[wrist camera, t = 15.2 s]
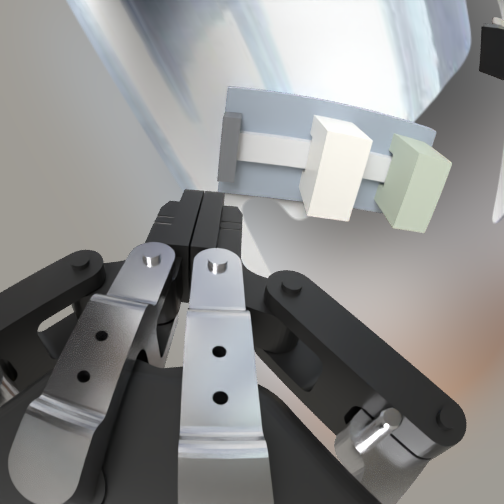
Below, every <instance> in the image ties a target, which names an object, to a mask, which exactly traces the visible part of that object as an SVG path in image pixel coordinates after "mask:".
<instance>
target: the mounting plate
mask: <svg viewBox="0 0 504 504" xmlns="http://www.w3.org/2000/svg"><path fill="white" fill-rule="evenodd" d="M314 115H318V116H324V117H329V118H333V119H338V120H343V121H347V122H352V123H353V124H355V125H356V126H357V127H358V128H359V129H360V130H361V131H363V132H364V133H365V134H366V135H367V136H368V137H369V138H370V139H372V140H373V142H372V146H371V149H370V153H369V156H368V160H367V163H366V167H365V170H364V174H363V177H362V180H361V184H360V187H359V190H358V193H357V197H356V200H355V203H354V206H353V209H359V210H365V211H372V212H378V213H383V214H384V215H385V217H386V218H387V220H388V222H389V223H390V225H391V226H392V228H395V229H402V230H408V231H415V232H421V233H425V230H426V228H427V226H428V224H429V221H430V219H431V217H432V214H433V212H434V210H435V207H436V205H437V202H438V200H439V197H440V195H441V192H442V189H443V187H444V184H445V182H446V179H447V176H448V174H449V170H450V168H451V165H452V163H451V162H450V161H449V160H448V159H446V158H445V157H444V156H442V155H441V154H440V153H438V152H437V151H436V150H435V149H433V148H432V145H433V142H434V139H435V135H436V131H435V130H433V129H432V128H429V127H426V126H423V125H420V124H417V123H413V122H410V121H407V120H404V119H400V118H397V117H393V116H390V115H386V114H383V113H379V112H375V111H371V110H367V109H363V108H359V107H355V106H351V105H346V104H342V103H337V102H333V101H328V100H323V99H318V98H312V97H307V96H301V95H295V94H289V93H282V92H275V91H268V90H260V89H251V88H242V87H232V86H229V87H228V91H227V100H226V109H225V114H224V116H223V124H222V135H221V146H220V157H219V168H218V181H219V185H218V192H222V193H231V194H241V195H251V196H260V197H269V198H277V199H286V200H294V201H302V202H303V200H302V196H301V193H300V190H299V183H300V179H301V174H302V170H305V168H306V164H307V159H308V155H309V150H310V145H311V141H312V136H311V134H310V132H311V127H312V122H313V117H314Z"/></svg>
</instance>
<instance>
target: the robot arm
mask: <svg viewBox="0 0 504 504" xmlns="http://www.w3.org/2000/svg"><path fill="white" fill-rule="evenodd" d="M224 195H225V193H222V192H211V191H205V194H204V191H199V190H187V189H185V190H184V193H183V195H182V198H181V200H180V202H177V201H169V202H168V203H166V204H165V205H164V206H163V207H161V209H160V211H159V213H158V217H157V218H156V220H155V223H154V224H153V226H152V228H151V231H150V233H149V235H148V237H147V240H146V242H145V243H144V244H141V245H139V246H137V247H135V248H134V249H133V250H132V251H131V252H130V254H129V256H128V257H127V259H126V260H124V261H119V262H111V263H103V258H102V257H101V255H100V254H99V253H97V252H95V251H92V250H80V251H77V252H74V253H72V254H70V255H68V256H66V257H64V258H62V259H60V260H58V261H56V262H54V263H53V264H51V265H49V266H47V267H45V268H43V269H41V270H40V271H38V272H36V273H34V274H32V275H31V276H29V277H27V278H25V279H23V280H22V281H20V282H19V283H17V284H15V285H13V286H11V287H9V288H8V289H6V290H4V291H3V292H1V293H0V504H396V503H397V502H398V500H399V499H400V498H401V497H402V496H403V495H404V493H405V492H406V491H407V490H408V488H409V487H410V486H411V485H412V483H413V482H414V481H415V480H416V478H417V477H418V476H419V474H420V473H421V472H422V470H423V469H424V467H425V466H426V465H427V463H428V462H429V461H430V460H432V459H433V458H435V457H437V456H438V455H440V454H442V453H443V452H445V451H446V450H448V449H449V448H451V447H452V446H454V445H455V444H457V443H458V442H459V441H461V439H462V438H463V436H464V434H465V431H466V418H465V415H464V412H463V410H462V409H461V407H460V406H459V405H458V404H457V403H456V402H455V401H454V400H452V399H451V398H450V397H449V396H448V395H447V394H446V393H444V392H443V391H442V390H441V389H440V388H439V387H437V386H436V385H435V384H434V383H433V382H432V381H430V380H429V379H428V378H427V377H426V376H425V375H423V374H422V373H421V372H420V371H419V370H418V369H416V368H415V367H414V366H413V365H411V363H409V362H408V361H407V360H406V359H404V358H403V357H402V356H401V355H400V354H399V353H398V352H396V351H395V350H394V349H393V348H392V347H391V346H389V345H388V344H387V343H385V341H383V340H382V339H381V338H379V336H377V335H376V334H375V333H374V332H373V331H371V330H370V329H369V328H368V327H366V326H365V325H364V324H363V323H362V322H361V321H360V320H358V319H357V318H356V317H355V316H354V315H352V314H351V313H350V312H349V311H348V310H346V309H345V308H344V307H343V306H342V305H340V304H339V303H338V302H337V301H336V300H334V299H333V298H332V297H331V296H329V295H328V294H327V293H326V292H325V291H323V290H322V289H321V288H320V287H318V286H317V285H316V284H315V283H314V282H313V281H311V280H310V279H309V278H307V277H306V276H305V275H303V274H300V273H298V272H295V271H288V270H284V271H278V272H275V273H273V274H272V275H270V276H269V278H265V277H262V276H259V275H257V274H254V273H253V272H251V271H249V270H248V269H247V268H246V267H245V266H244V265H243V263H242V261H241V238H242V213H241V212H240V210H239V209H238V207H234V206H224ZM189 299H190V306H189V308H188V310H187V319H186V331H185V346H184V361H183V367H174V368H164V367H165V363H166V359H167V356H168V353H169V349H170V346H171V343H172V339H173V336H174V332H175V329H176V326H177V323H178V312H179V309H180V304H181V302H186V303H188V302H189ZM71 304H72V307H73V310H74V313H72V314H70V315H69V316H67V317H65V318H64V319H62V320H61V321H59V322H57V323H56V324H54V325H53V326H51V327H49V328H48V329H46V330H44V331H42V332H37V330H38V327H39V325H40V324H41V323H42V322H43V321H44V320H46V319H48V318H49V317H51V316H52V315H54V314H56V313H57V312H59V311H61V310H62V309H64V308H66V307H67V306H69V305H71ZM254 350H255V352H256V354H257V355H258V356H259V357H260V359H261V360H262V361H263V362H264V363H265V364H266V365H267V366H268V367H269V368H270V369H271V370H272V371H273V372H274V373H275V374H276V375H277V377H279V379H280V380H281V381H282V382H283V383H284V384H285V385H286V386H287V387H288V388H289V389H290V390H291V391H292V392H293V393H294V394H295V395H296V396H297V397H298V398H299V399H300V400H301V401H302V402H303V403H304V404H305V405H306V406H307V407H308V408H309V409H310V410H311V411H312V412H313V413H314V414H315V415H316V416H317V417H318V418H319V419H320V420H321V421H322V422H323V423H324V424H325V425H326V426H327V427H328V428H329V429H330V430H331V431H332V432H333V433H334V434H335V435H336V439H335V444H334V447H335V452H336V455H337V457H338V458H339V460H340V461H341V462H342V464H343V465H344V466H343V465H342V464H341V463H340V462H339V461H338V460H337V459H336V458H335V457H334V456H333V455H332V454H331V453H330V452H329V450H328V449H327V448H326V447H325V446H324V445H323V444H322V443H321V442H320V441H319V440H318V439H317V438H316V437H315V436H314V435H313V434H312V432H311V431H310V430H309V429H308V428H307V427H306V426H305V425H304V424H303V423H302V422H301V420H300V419H299V418H298V417H297V416H296V415H295V414H294V413H293V412H292V411H291V409H290V408H289V407H288V406H287V405H286V404H285V403H284V402H283V401H282V400H281V399H280V398H279V397H278V396H276V395H275V394H274V393H272V392H271V391H269V390H268V389H266V388H264V387H262V386H261V385H259V384H257V375H256V366H255V355H254Z"/></svg>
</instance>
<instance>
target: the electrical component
mask: <svg viewBox="0 0 504 504" xmlns="http://www.w3.org/2000/svg"><path fill="white" fill-rule="evenodd" d="M479 71H480V72H483V73H486V74H488V75H491V76H494V77H496V78H499V79H501V80H504V20H503V19H501V18H497V17H495V18H494V17H493V18H492V24H484V27H482V31H481V54H480V66H479Z"/></svg>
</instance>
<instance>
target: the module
mask: <svg viewBox="0 0 504 504" xmlns="http://www.w3.org/2000/svg"><path fill="white" fill-rule="evenodd" d="M310 134H311V136H312V141H311V145H310V150H309V155H308V159H307V164H306V168H305V170H302V174H301V179H300V183H299V190H300V193H301V196H302V200H303V203H304V206H305V210H306V213H307V216H312V217H319V218H327V219H334V220H342V221H349V218H350V215H351V212H352V209H353V206H354V203H355V200H356V197H357V193H358V190H359V187H360V184H361V180H362V177H363V174H364V170H365V167H366V163H367V160H368V156H369V153H370V149H371V146H372V142H373V140H372V139H370V138H369V137H368V136H367V135H366V134H365V133H364V132H363V131H361V130H360V129H359V128H358V127H357V126H356V125H355V124H353V123H352V122H347V121H343V120H338V119H333V118H329V117H324V116H318V115H314V117H313V122H312V127H311V132H310Z"/></svg>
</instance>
